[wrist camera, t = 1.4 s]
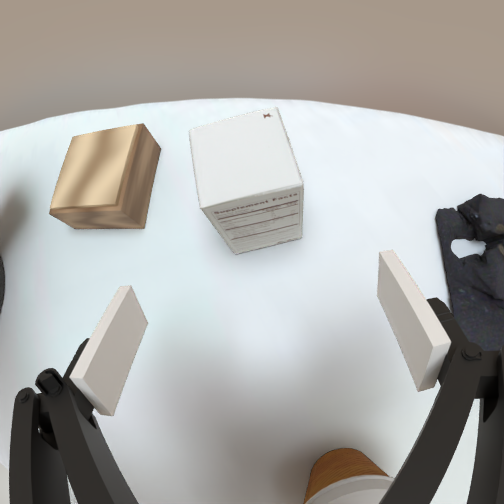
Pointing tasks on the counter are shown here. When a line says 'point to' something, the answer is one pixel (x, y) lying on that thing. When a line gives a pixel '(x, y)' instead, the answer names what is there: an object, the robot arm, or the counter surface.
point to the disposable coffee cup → (346, 479)
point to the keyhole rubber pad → (476, 269)
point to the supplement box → (248, 180)
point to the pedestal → (107, 179)
